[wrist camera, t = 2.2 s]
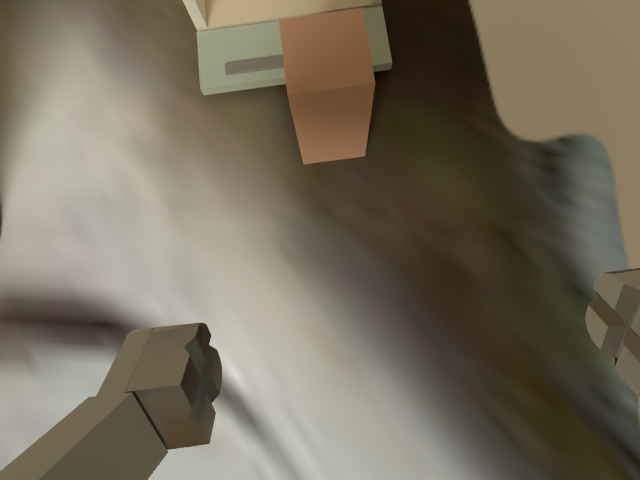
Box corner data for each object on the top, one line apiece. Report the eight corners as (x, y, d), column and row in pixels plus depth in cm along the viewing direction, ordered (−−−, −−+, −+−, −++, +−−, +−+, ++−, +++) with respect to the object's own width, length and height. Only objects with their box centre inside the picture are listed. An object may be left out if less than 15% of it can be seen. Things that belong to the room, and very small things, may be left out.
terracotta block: (303, 164, 29) (287, 95, 20) (297, 108, 30) (278, 19, 21) (365, 156, 29) (375, 83, 20) (356, 100, 30) (362, 7, 21)
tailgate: (200, 39, 31) (203, 95, 30) (195, 29, 30) (198, 86, 29) (381, 14, 31) (390, 69, 30) (382, 2, 29) (392, 60, 28)
